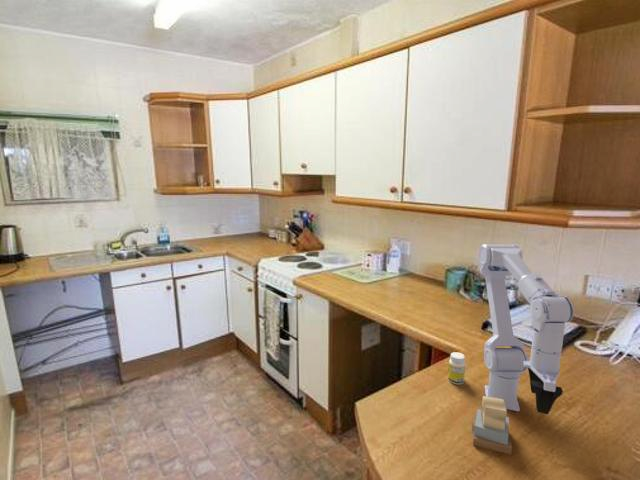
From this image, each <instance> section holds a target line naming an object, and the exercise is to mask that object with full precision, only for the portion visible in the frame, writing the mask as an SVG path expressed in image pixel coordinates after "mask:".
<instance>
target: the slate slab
mask: <svg viewBox="0 0 640 480" xmlns="http://www.w3.org/2000/svg"><path fill="white" fill-rule="evenodd" d="M476 411H477V412H476V417H475V418H476V423H475V431H474V435H475V436H479V437H482V438H485V439H488V440H491V441H495V442H498V443H501V444H504V445H508V436H509V434H510V431H509V429H510V428H509V427H510V426H509V425H510V417H508V416H506V422H505V430H500V429H494V428H489V427H484V426H483V423H482V417H481V408H480V409H479V408H477V410H476Z"/></svg>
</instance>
